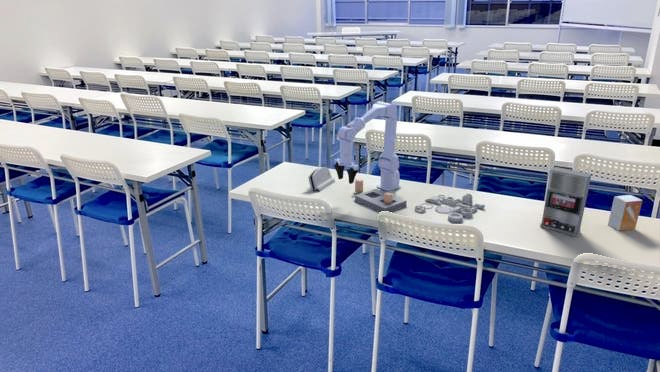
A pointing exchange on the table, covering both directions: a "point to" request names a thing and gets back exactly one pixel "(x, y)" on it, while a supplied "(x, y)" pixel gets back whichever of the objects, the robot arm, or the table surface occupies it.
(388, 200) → the fitted pink peg
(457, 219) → the robot parts
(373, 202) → the housing
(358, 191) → the pink rounded capsule
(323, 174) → the hinge
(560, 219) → the cassette tape recorder
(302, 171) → the table surface
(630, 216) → the small box
